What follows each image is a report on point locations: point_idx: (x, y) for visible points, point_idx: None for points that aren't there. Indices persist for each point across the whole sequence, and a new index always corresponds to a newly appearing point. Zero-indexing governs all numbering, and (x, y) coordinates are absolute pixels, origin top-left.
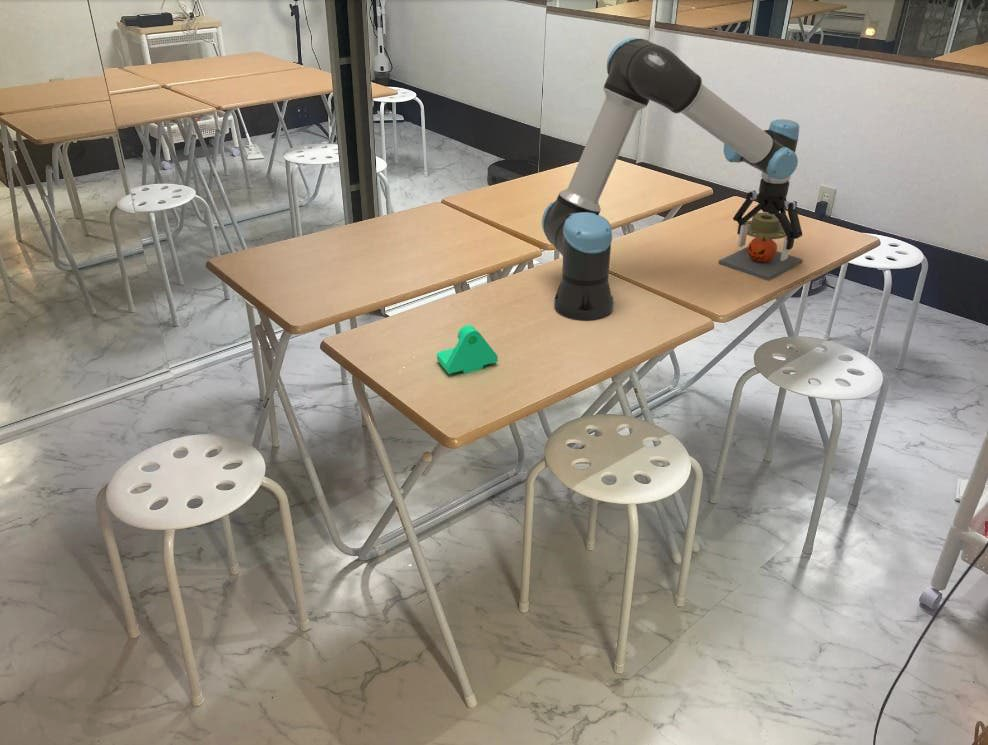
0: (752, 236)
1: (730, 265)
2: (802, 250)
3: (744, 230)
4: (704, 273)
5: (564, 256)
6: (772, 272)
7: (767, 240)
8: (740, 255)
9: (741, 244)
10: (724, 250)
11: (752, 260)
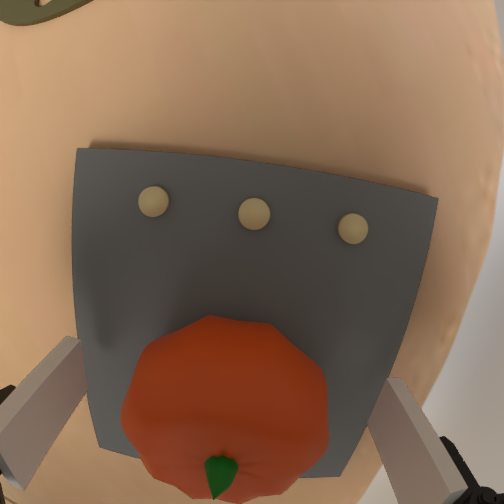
0: (45, 21)
1: None
2: (357, 12)
3: (33, 446)
4: (133, 499)
5: None
6: (341, 445)
7: (249, 461)
8: (117, 367)
9: (79, 387)
10: (23, 297)
11: None
